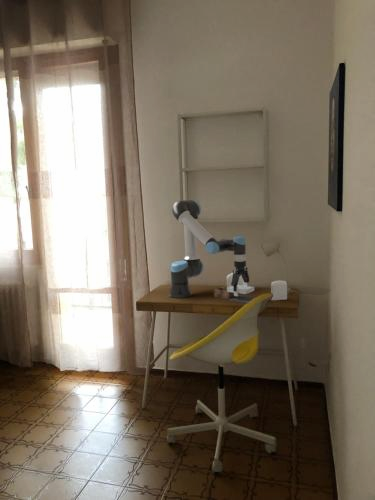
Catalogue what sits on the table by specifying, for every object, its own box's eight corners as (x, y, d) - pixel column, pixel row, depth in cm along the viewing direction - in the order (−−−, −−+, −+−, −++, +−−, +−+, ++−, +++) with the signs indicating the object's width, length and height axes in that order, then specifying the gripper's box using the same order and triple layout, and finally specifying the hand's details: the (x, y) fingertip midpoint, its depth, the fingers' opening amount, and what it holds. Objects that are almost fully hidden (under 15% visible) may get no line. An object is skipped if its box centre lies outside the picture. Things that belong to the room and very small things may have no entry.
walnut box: (214, 296, 276) (214, 289, 275) (221, 294, 282) (220, 287, 281) (229, 299, 268) (229, 291, 268) (235, 296, 274) (235, 289, 274)
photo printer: (272, 301, 260) (272, 281, 258) (270, 299, 264) (270, 280, 262) (288, 300, 260) (288, 280, 259) (285, 298, 265) (285, 279, 263)
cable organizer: (240, 292, 285) (240, 276, 283) (226, 291, 289) (225, 275, 288) (247, 288, 298) (246, 272, 297) (233, 287, 303) (233, 271, 301)
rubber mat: (229, 300, 265) (229, 299, 265) (240, 295, 275) (240, 295, 275) (250, 303, 255) (250, 302, 255) (262, 298, 265) (262, 298, 265)
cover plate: (226, 291, 267) (226, 287, 267) (236, 288, 275) (236, 284, 275) (245, 294, 258) (245, 290, 258) (254, 290, 266) (254, 286, 266)
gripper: (235, 263, 253) (235, 298, 256) (254, 258, 271) (255, 291, 273) (224, 263, 257) (225, 297, 260) (244, 257, 275) (245, 289, 278)
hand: (240, 294), depth 267 cm, fingers closed on cover plate, 11 cm apart
